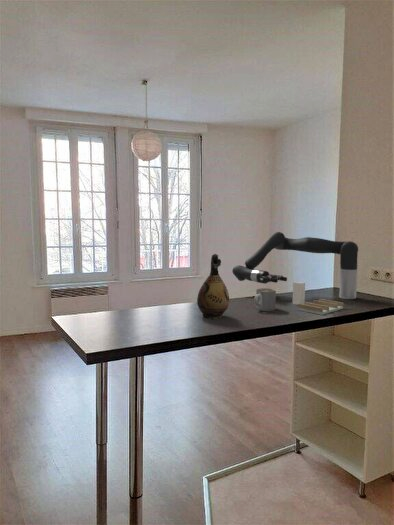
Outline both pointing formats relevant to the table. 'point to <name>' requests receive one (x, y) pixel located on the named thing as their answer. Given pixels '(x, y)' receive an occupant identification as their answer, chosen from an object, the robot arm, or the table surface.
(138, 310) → the table surface
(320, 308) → the drying rack
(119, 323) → the table surface
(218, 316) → the ceramic jug
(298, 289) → the clay bar
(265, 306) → the coffee mug
